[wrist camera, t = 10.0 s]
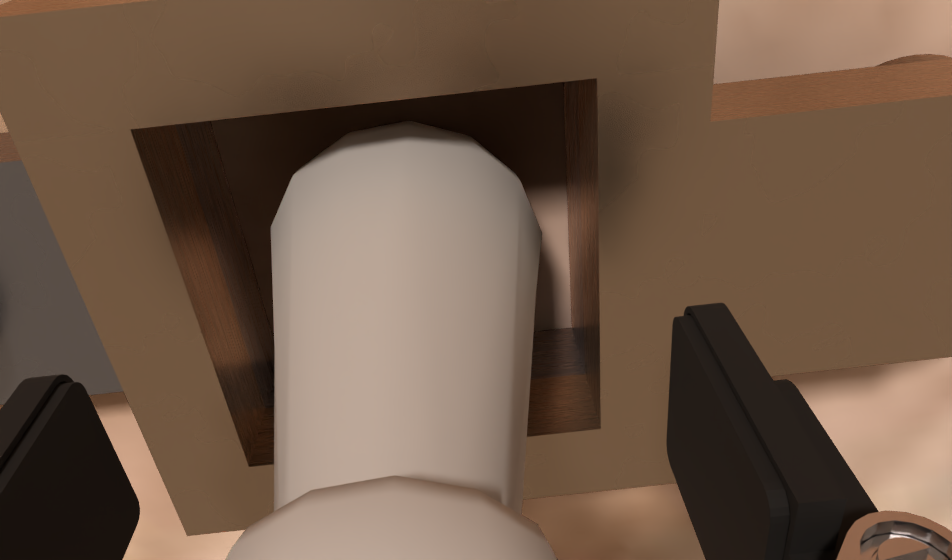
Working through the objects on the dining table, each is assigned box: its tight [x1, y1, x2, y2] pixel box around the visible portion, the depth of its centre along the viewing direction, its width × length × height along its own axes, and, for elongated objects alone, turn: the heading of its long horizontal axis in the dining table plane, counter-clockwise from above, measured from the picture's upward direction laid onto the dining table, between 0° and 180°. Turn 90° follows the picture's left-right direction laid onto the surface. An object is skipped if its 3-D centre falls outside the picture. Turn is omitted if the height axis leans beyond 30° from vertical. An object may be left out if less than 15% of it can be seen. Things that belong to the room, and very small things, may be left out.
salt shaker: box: [225, 121, 558, 560], centre depth 13 cm, size 6×6×13 cm
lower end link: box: [0, 80, 585, 408], centre depth 17 cm, size 20×12×3 cm, turn 95°
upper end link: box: [0, 0, 952, 536], centre depth 16 cm, size 20×12×4 cm, turn 95°
